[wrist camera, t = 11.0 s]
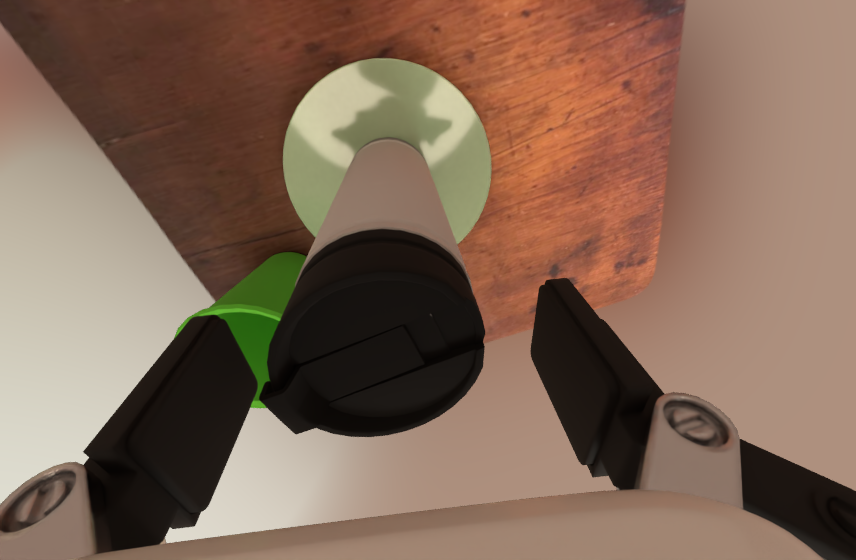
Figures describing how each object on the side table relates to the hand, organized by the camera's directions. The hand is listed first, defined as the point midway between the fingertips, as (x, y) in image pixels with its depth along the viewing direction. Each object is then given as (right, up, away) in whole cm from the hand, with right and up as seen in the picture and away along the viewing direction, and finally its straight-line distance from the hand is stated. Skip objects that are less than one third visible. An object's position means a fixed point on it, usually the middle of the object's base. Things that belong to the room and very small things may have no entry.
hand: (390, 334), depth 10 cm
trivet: (-2, +10, +17) cm, 19 cm away
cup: (-11, +2, +21) cm, 24 cm away
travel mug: (-2, +9, +16) cm, 19 cm away
